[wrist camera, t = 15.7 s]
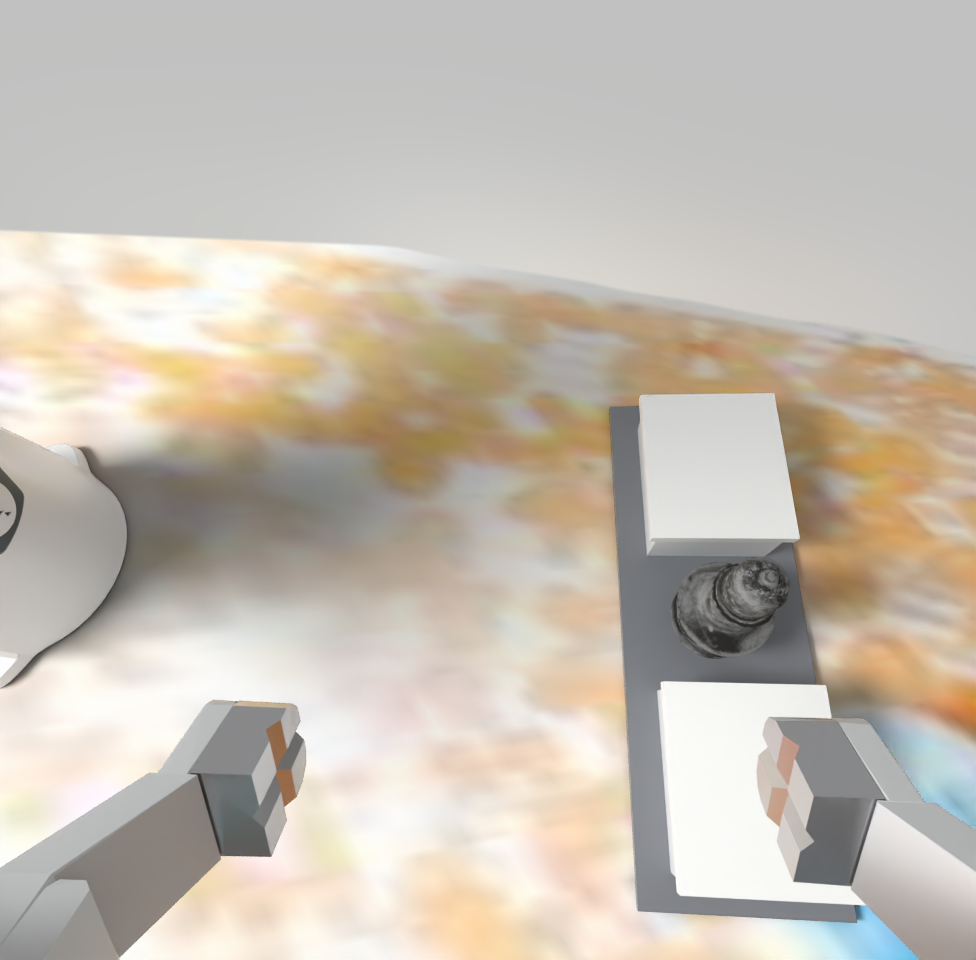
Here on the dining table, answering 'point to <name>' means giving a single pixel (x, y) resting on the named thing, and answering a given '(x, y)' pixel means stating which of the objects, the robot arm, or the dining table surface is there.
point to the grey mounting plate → (705, 681)
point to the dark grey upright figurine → (729, 606)
